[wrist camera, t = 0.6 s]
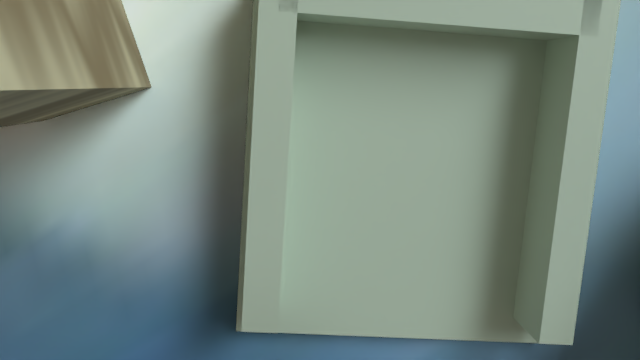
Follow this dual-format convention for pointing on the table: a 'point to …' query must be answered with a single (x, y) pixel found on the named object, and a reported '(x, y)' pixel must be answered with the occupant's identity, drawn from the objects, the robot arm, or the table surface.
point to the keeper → (422, 166)
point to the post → (64, 57)
